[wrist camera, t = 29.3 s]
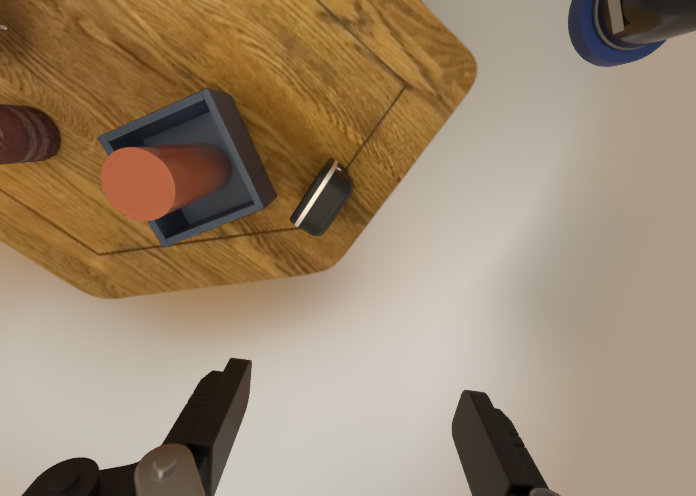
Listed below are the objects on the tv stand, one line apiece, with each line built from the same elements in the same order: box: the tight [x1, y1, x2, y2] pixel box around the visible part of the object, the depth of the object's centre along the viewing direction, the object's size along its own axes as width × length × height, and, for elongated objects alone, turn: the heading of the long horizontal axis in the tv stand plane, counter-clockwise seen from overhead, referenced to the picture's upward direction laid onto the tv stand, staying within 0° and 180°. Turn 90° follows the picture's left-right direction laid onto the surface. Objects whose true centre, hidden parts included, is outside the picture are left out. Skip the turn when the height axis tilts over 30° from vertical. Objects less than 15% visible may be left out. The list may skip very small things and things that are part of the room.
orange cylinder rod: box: [101, 142, 232, 221], centre depth 34 cm, size 6×6×14 cm
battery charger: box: [290, 158, 354, 236], centre depth 37 cm, size 7×4×11 cm, turn 146°
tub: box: [98, 88, 277, 247], centre depth 38 cm, size 13×13×7 cm
